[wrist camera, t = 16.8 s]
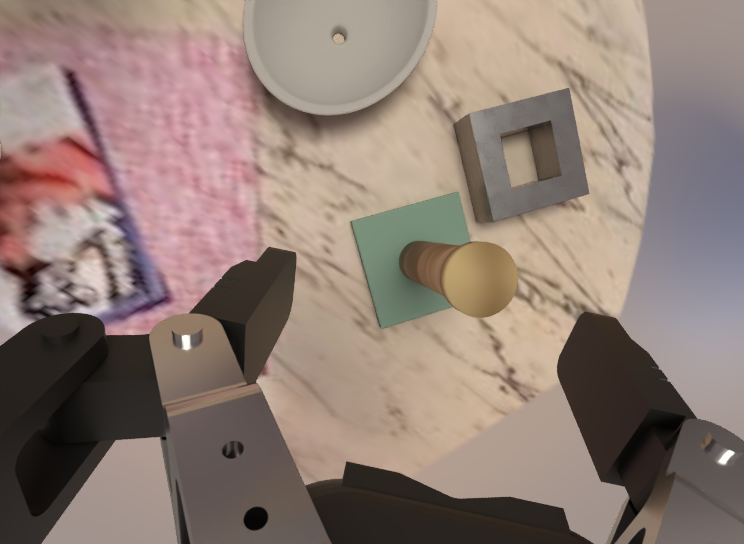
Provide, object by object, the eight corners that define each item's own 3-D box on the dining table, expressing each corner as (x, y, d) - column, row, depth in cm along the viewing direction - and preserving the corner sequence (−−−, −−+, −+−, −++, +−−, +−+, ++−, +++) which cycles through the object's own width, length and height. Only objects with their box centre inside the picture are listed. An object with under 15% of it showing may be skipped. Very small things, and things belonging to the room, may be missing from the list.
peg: (402, 290, 41) (455, 326, 26) (389, 244, 41) (437, 254, 26) (447, 277, 42) (524, 304, 27) (435, 230, 41) (508, 233, 26)
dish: (332, 163, 40) (336, 155, 35) (213, 50, 37) (198, 23, 32) (454, 29, 40) (475, 2, 35) (344, -93, 38) (350, -140, 33)
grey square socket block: (476, 222, 43) (493, 221, 39) (453, 124, 41) (469, 113, 37) (564, 196, 44) (589, 193, 40) (544, 100, 42) (569, 87, 39)
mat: (379, 326, 42) (381, 328, 41) (350, 221, 41) (351, 221, 40) (479, 295, 44) (483, 297, 43) (455, 192, 42) (458, 191, 41)
